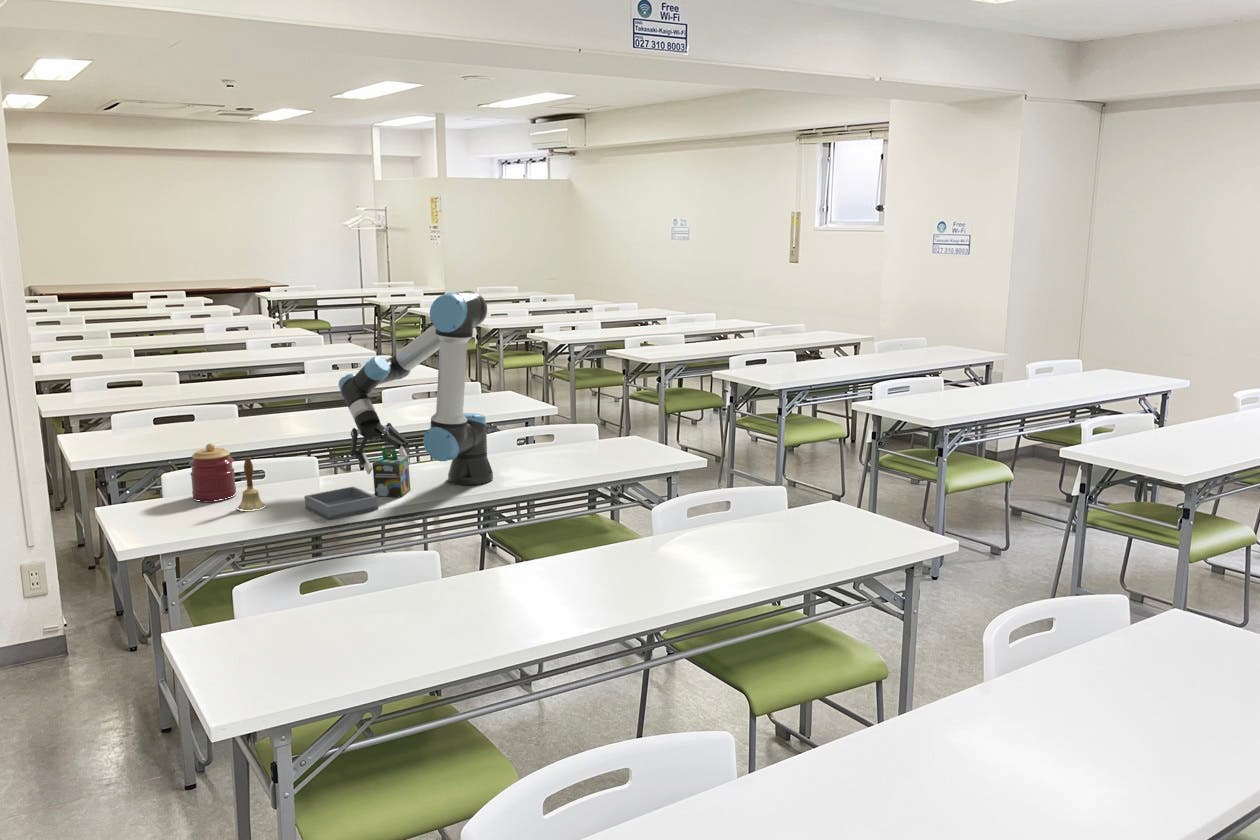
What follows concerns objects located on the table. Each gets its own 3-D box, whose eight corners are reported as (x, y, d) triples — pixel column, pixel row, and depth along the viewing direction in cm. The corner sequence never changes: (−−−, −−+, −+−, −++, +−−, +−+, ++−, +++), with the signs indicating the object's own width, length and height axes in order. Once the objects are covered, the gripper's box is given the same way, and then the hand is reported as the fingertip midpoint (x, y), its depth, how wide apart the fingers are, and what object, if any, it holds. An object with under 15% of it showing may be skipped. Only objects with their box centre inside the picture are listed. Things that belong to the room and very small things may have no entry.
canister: (224, 503, 304) (220, 448, 300) (184, 502, 304) (179, 448, 301) (243, 492, 316) (239, 439, 313) (205, 491, 317) (200, 438, 314)
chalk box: (411, 490, 318) (408, 446, 315) (401, 497, 309) (399, 452, 306) (383, 489, 319) (381, 445, 316) (373, 497, 310) (371, 452, 307)
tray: (353, 498, 308) (353, 486, 307) (378, 509, 297) (377, 496, 296) (305, 508, 298) (304, 495, 297) (328, 519, 286) (327, 506, 285)
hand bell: (271, 506, 301) (267, 456, 297) (251, 513, 293) (246, 462, 290) (251, 503, 304) (247, 453, 301) (231, 509, 297) (226, 459, 293)
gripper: (395, 417, 331) (419, 467, 323) (326, 427, 315) (350, 481, 307) (402, 404, 326) (427, 455, 318) (332, 414, 310) (356, 468, 302)
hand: (389, 468), depth 312 cm, fingers open, 13 cm apart
